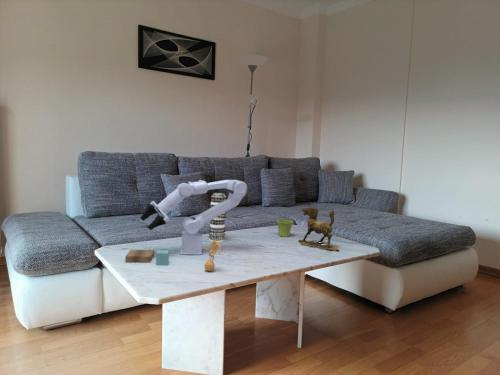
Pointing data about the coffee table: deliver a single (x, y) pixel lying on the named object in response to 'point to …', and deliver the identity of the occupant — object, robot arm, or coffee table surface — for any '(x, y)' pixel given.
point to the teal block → (162, 257)
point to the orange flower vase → (209, 264)
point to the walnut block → (139, 256)
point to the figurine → (318, 229)
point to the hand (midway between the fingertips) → (145, 223)
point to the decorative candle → (217, 220)
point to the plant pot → (284, 227)
